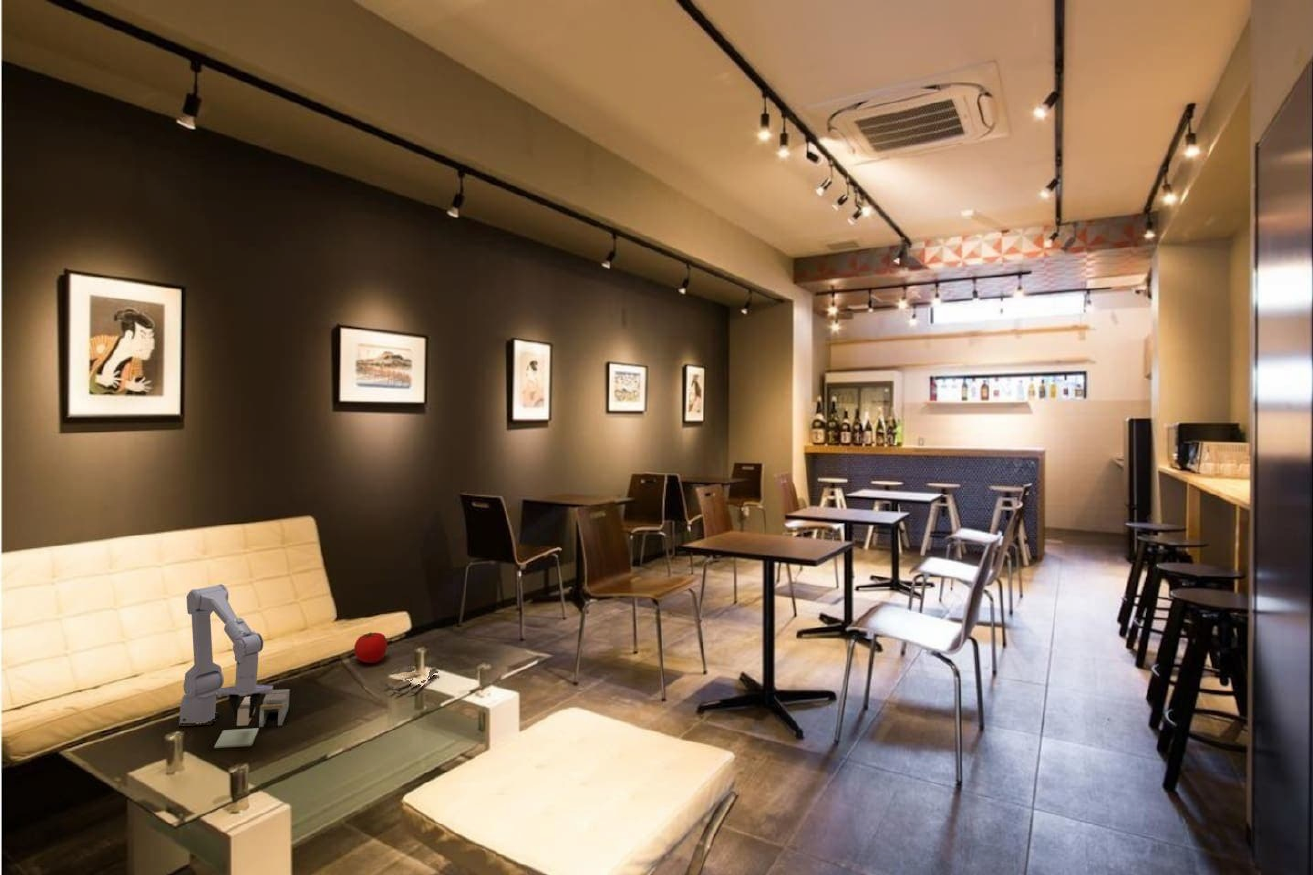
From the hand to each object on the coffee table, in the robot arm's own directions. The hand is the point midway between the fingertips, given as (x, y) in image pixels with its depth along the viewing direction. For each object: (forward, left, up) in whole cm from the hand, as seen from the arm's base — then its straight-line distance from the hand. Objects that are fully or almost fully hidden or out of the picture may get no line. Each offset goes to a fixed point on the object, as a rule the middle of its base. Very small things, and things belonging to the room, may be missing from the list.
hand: (244, 717), depth 216 cm
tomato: (+33, +62, -9) cm, 71 cm away
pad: (-2, +3, -8) cm, 9 cm away
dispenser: (+6, +16, -8) cm, 19 cm away
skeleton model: (+48, +37, -9) cm, 61 cm away
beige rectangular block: (0, +3, -2) cm, 3 cm away
